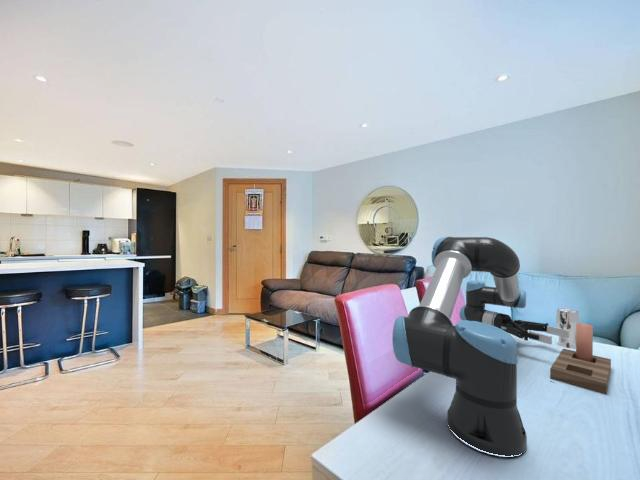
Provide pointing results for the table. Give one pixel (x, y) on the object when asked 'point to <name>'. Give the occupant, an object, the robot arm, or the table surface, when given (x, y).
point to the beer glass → (567, 326)
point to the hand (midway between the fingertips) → (560, 337)
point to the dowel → (584, 342)
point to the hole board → (582, 371)
